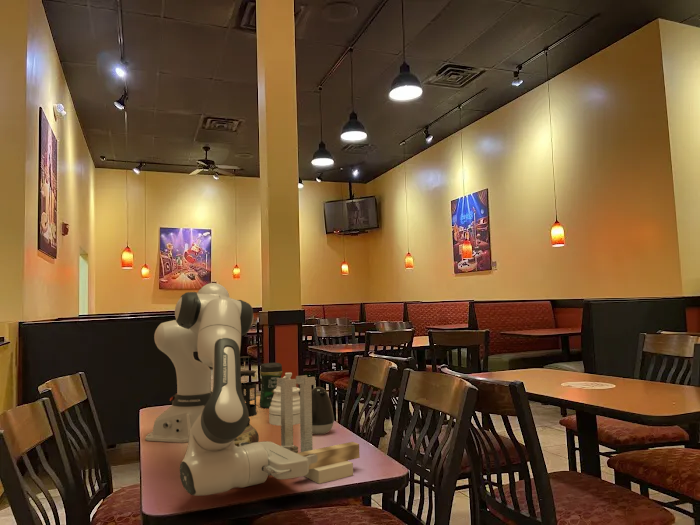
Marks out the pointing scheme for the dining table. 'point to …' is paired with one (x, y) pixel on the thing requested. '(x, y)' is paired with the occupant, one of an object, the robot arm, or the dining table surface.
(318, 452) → the rail
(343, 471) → the beige flat block
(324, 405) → the black tapered rounded piece
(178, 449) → the dining table surface
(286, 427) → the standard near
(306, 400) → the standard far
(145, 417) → the dining table surface
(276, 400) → the honey pot
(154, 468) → the dining table surface
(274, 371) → the coffee jar
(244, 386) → the french press
